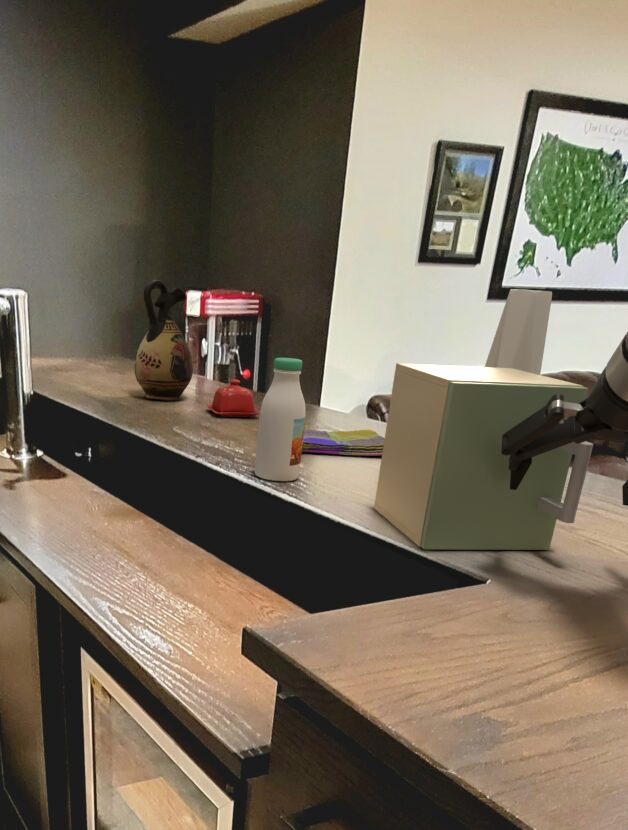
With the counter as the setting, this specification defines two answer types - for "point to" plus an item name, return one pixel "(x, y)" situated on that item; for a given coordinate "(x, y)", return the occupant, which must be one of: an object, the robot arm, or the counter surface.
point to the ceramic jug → (163, 348)
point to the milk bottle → (281, 424)
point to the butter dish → (233, 401)
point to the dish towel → (343, 442)
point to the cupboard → (425, 435)
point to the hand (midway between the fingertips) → (568, 488)
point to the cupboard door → (499, 472)
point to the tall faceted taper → (521, 331)
